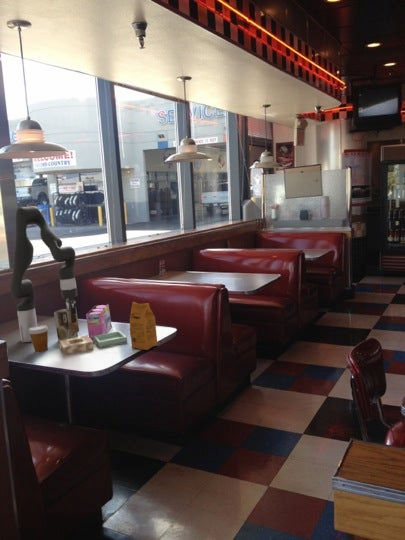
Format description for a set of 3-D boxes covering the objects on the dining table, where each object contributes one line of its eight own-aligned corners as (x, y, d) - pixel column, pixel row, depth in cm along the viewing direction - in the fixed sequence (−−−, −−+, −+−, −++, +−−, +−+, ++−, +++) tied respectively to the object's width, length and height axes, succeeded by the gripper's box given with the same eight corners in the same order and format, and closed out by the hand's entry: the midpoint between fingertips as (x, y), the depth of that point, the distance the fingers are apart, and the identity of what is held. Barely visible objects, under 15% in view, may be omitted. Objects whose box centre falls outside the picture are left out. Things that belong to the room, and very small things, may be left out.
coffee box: (78, 338, 268) (74, 309, 265) (70, 341, 262) (66, 312, 259) (65, 337, 271) (61, 308, 269) (57, 341, 266) (53, 311, 263)
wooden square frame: (64, 355, 239) (63, 347, 238) (60, 348, 252) (59, 340, 251) (93, 349, 244) (92, 341, 244) (88, 342, 257) (87, 335, 256)
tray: (99, 348, 245) (99, 342, 245) (94, 341, 258) (93, 336, 258) (127, 342, 251) (126, 336, 250) (120, 336, 264) (119, 330, 263)
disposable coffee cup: (40, 354, 244) (36, 330, 242) (27, 352, 249) (24, 329, 248) (55, 348, 252) (51, 325, 250) (42, 346, 257) (39, 324, 256)
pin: (70, 333, 244) (67, 309, 242) (69, 331, 248) (65, 308, 246) (80, 331, 245) (76, 308, 244) (78, 329, 250) (75, 306, 248)
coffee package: (143, 342, 249) (138, 299, 245) (160, 345, 241) (156, 301, 237) (128, 348, 241) (123, 304, 238) (145, 351, 233) (140, 306, 230)
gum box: (99, 327, 288) (96, 304, 286) (112, 326, 287) (109, 303, 285) (88, 339, 264) (85, 314, 262) (103, 338, 264) (100, 313, 262)
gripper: (58, 286, 248) (63, 320, 251) (62, 290, 235) (67, 325, 238) (73, 284, 251) (78, 317, 254) (78, 288, 238) (83, 322, 241)
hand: (73, 321), depth 246 cm, fingers closed on pin, 4 cm apart
